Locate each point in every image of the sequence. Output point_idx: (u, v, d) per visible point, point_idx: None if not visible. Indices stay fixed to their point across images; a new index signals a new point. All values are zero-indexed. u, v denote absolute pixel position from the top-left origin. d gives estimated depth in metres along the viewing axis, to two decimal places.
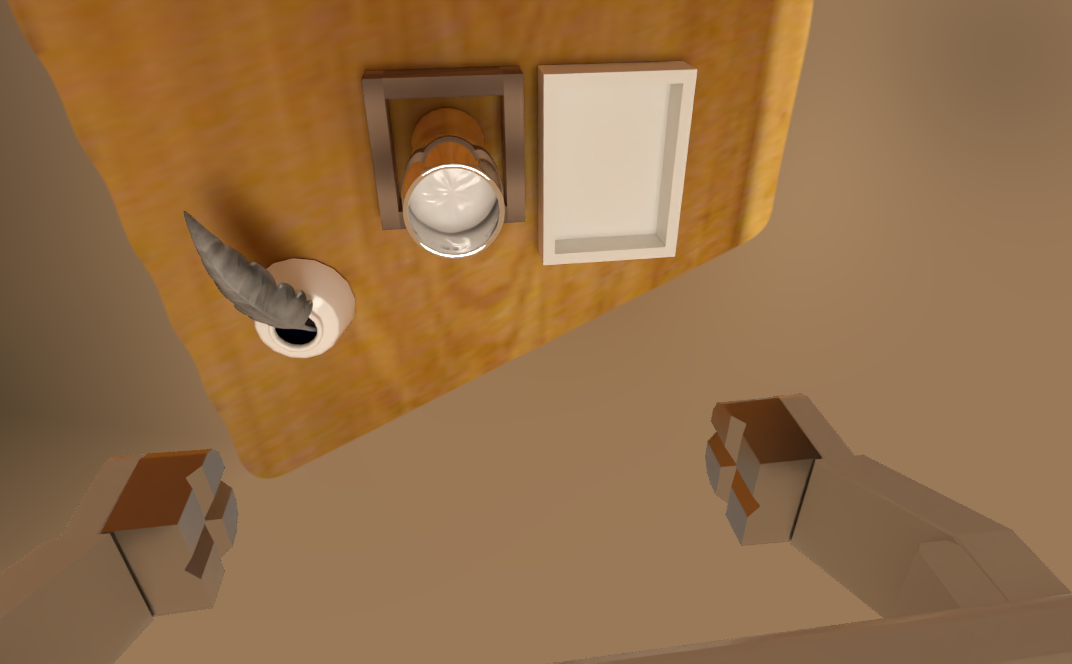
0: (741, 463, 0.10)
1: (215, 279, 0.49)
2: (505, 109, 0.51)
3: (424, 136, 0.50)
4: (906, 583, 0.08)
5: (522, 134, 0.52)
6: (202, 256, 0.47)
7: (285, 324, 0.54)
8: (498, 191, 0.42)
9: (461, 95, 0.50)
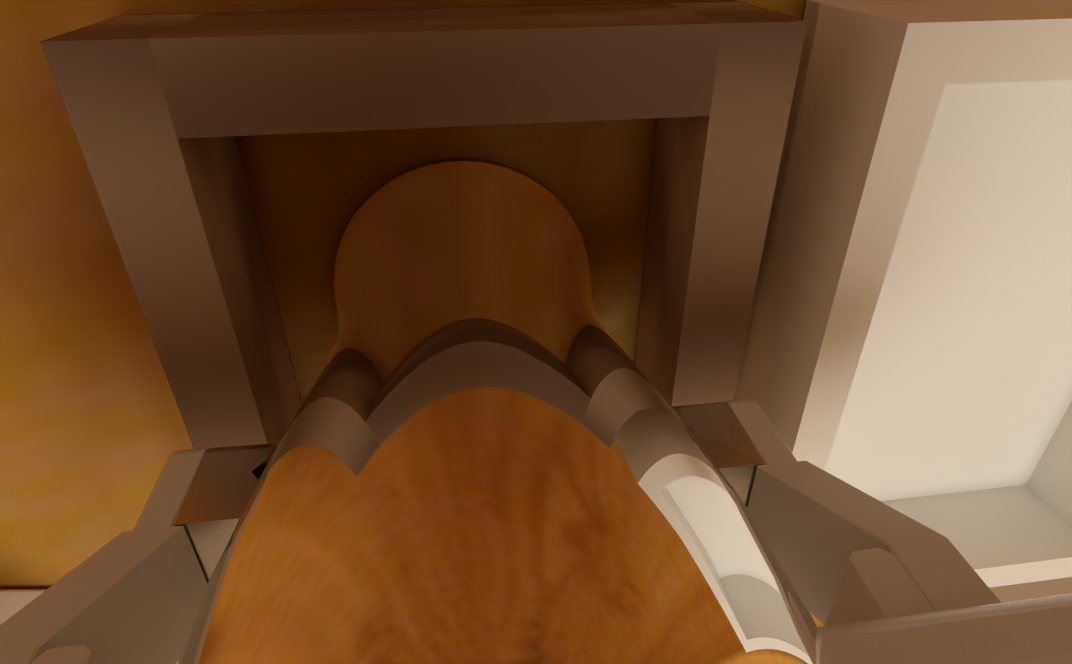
0: None
1: None
2: (706, 174, 0.12)
3: (364, 302, 0.11)
4: (840, 592, 0.08)
5: (754, 266, 0.14)
6: None
7: None
8: None
9: (528, 118, 0.11)
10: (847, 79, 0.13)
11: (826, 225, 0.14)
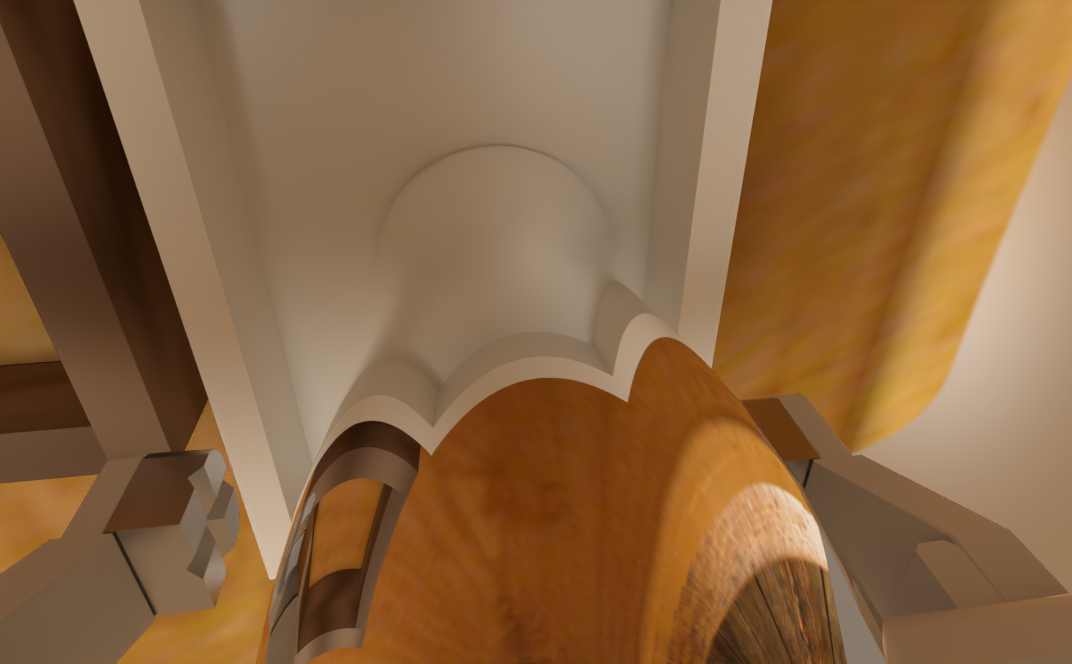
0: None
1: None
2: None
3: (417, 267, 0.12)
4: (904, 583, 0.08)
5: (55, 180, 0.13)
6: None
7: None
8: None
9: None
10: None
11: None
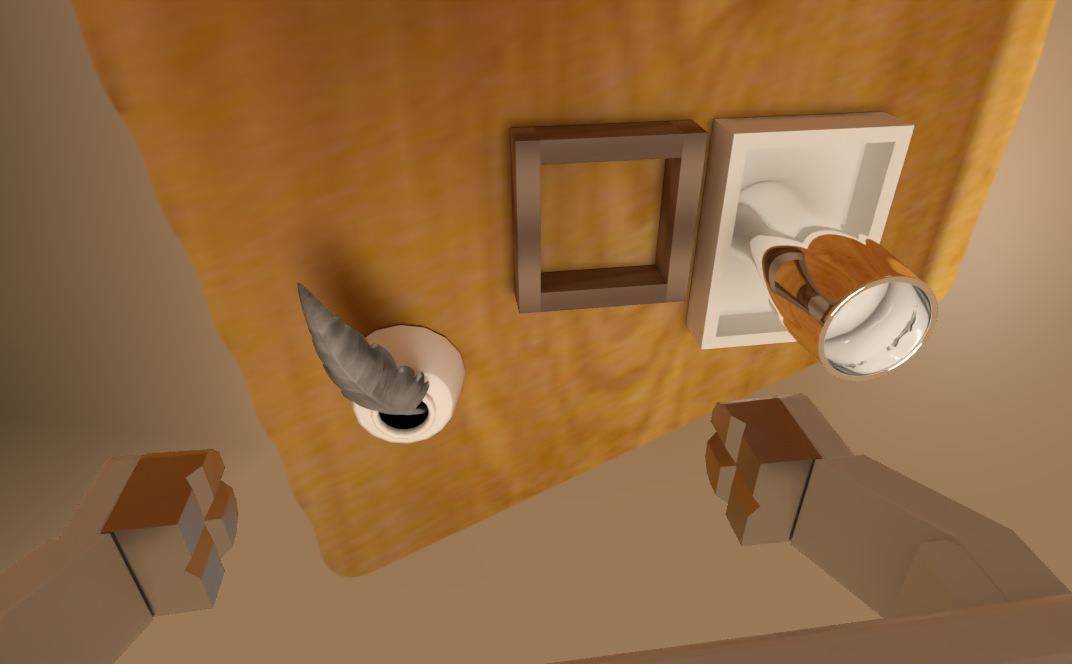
0: (741, 463, 0.10)
1: (330, 366, 0.39)
2: (681, 174, 0.42)
3: (765, 221, 0.43)
4: (906, 583, 0.08)
5: (696, 202, 0.43)
6: (318, 339, 0.38)
7: (398, 412, 0.44)
8: (936, 304, 0.35)
9: (631, 158, 0.41)
10: (723, 146, 0.42)
11: (719, 190, 0.44)
